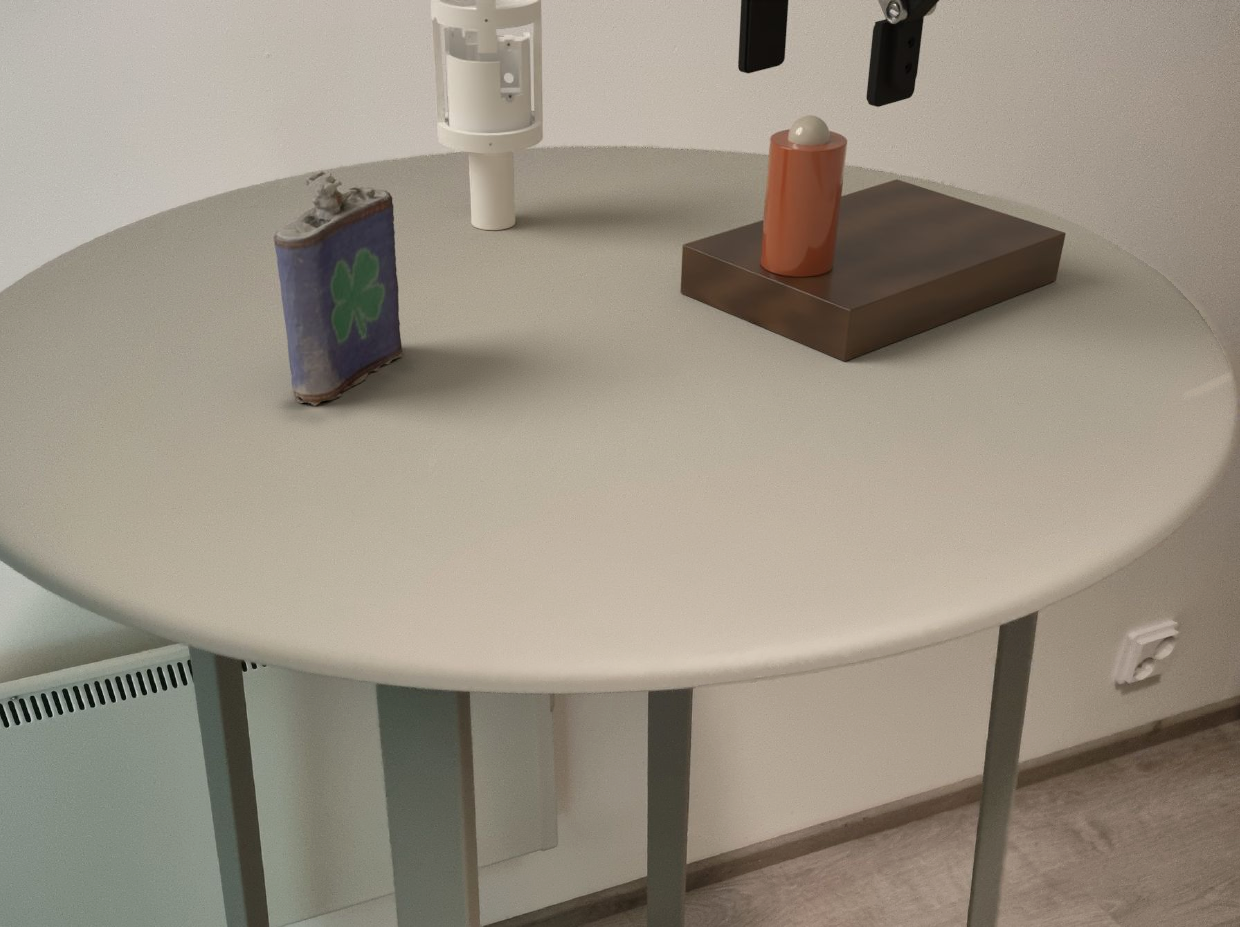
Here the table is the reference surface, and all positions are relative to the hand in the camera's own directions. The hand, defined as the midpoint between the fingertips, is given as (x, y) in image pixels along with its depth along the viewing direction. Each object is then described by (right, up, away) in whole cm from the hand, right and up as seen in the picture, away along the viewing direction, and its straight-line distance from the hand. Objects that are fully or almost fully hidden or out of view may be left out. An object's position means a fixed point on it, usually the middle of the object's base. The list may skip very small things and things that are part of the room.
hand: (823, 84), depth 84 cm
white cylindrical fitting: (-20, +1, +21) cm, 29 cm away
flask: (-27, -16, +2) cm, 31 cm away
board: (+5, -7, +12) cm, 15 cm away
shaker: (-1, -7, +7) cm, 10 cm away
